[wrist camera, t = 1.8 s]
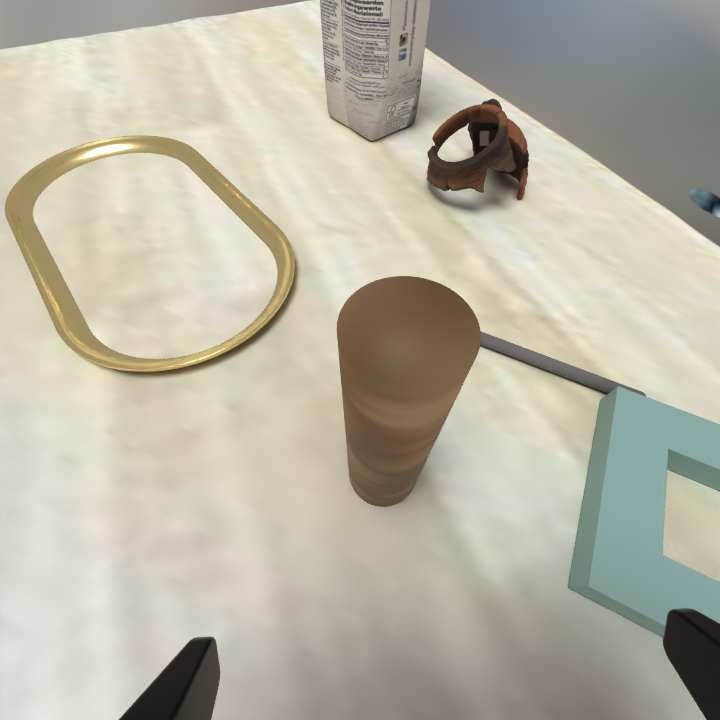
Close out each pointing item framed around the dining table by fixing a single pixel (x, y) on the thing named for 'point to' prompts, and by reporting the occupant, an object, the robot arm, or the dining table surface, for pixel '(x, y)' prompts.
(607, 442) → the square ring
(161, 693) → the robot arm
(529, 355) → the grey thin rod
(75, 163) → the gold oval loop
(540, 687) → the dining table surface
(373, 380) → the dowel
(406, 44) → the juice carton
